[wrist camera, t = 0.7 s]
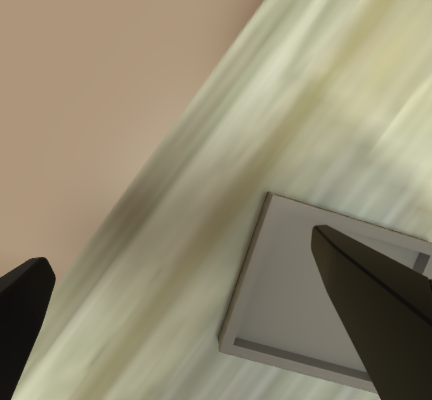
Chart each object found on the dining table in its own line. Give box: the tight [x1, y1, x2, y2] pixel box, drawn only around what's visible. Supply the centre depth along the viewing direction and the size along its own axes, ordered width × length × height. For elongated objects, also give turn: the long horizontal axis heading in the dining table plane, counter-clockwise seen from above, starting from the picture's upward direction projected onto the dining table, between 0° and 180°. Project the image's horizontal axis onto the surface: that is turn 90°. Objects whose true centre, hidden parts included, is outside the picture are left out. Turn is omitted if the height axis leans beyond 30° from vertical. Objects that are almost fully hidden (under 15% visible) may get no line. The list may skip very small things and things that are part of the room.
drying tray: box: [218, 192, 432, 394], centre depth 25 cm, size 15×16×2 cm
